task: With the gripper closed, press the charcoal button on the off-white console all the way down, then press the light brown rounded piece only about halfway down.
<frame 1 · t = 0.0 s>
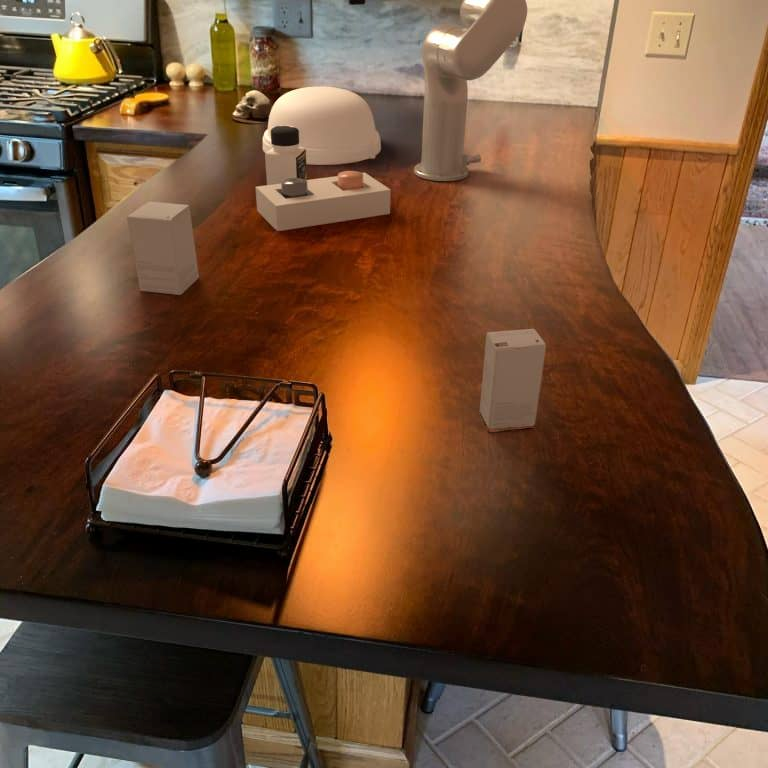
hand: (346, 1, 149), 37 cm above the kitchen counter, tool pointing down, fingers open, 9 cm apart
skull: (253, 120, 218), on the kitchen counter
medicine bottle: (287, 183, 171), on the kitchen counter
skincare box: (505, 424, 94), on the kitchen counter
button console: (323, 212, 155), on the kitchen counter
dome cover: (322, 148, 195), on the kitchen counter
light brown rounded piece: (350, 184, 155), point 5 cm above the kitchen counter, slide at 0.0 cm
supplement box: (169, 285, 126), on the kitchen counter
charcoal button: (294, 192, 150), point 5 cm above the kitchen counter, slide at 0.0 cm
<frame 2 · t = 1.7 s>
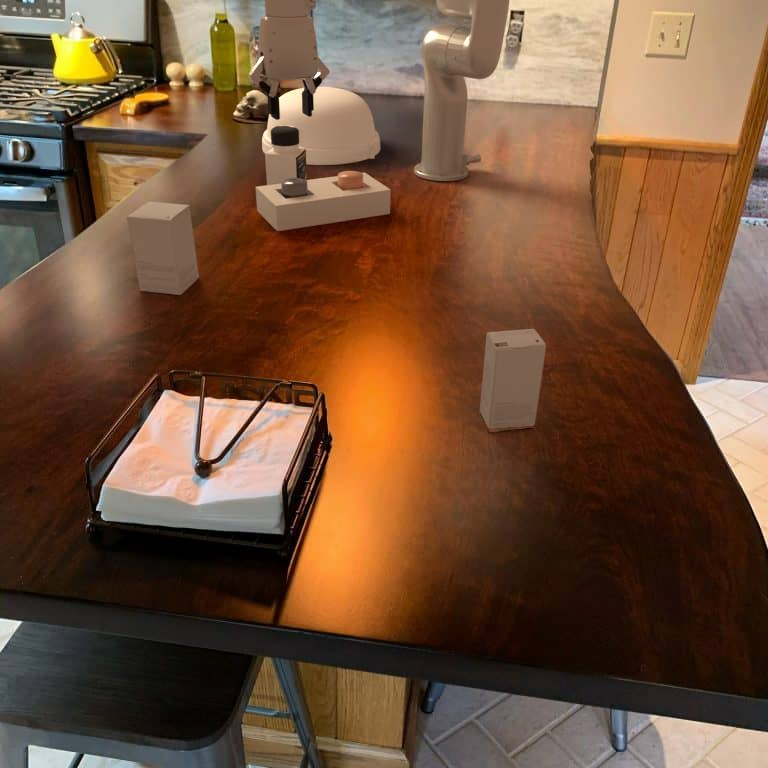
hand: (291, 115, 142), 20 cm above the kitchen counter, tool pointing down, fingers open, 5 cm apart
nothing on the kitchen counter moved.
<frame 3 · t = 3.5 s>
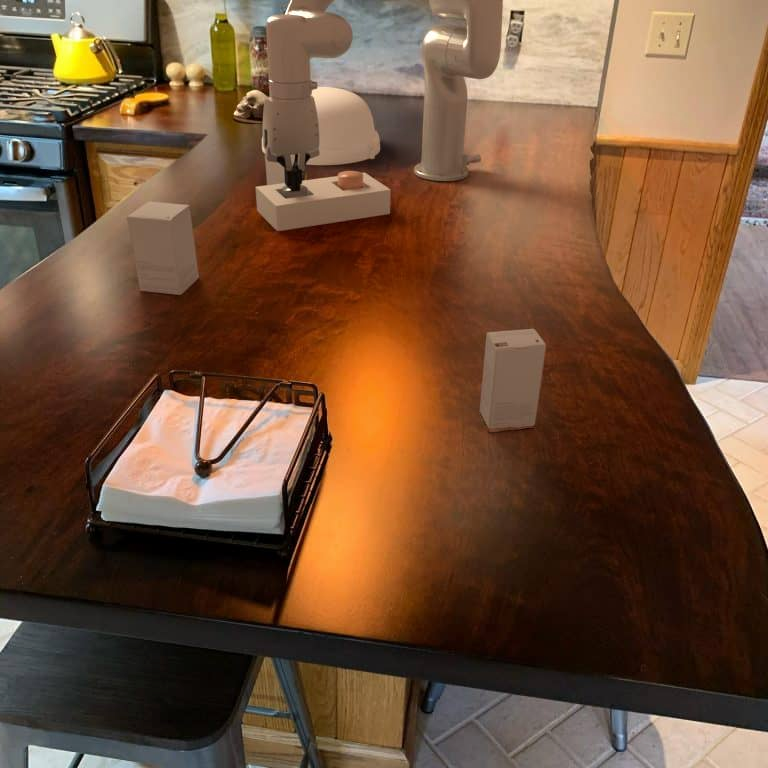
hand: (293, 188, 150), 6 cm above the kitchen counter, tool pointing down, fingers closed
charcoal button: (295, 198, 151), point 4 cm above the kitchen counter, slide at 1.3 cm, touching gripper
everything else where it was.
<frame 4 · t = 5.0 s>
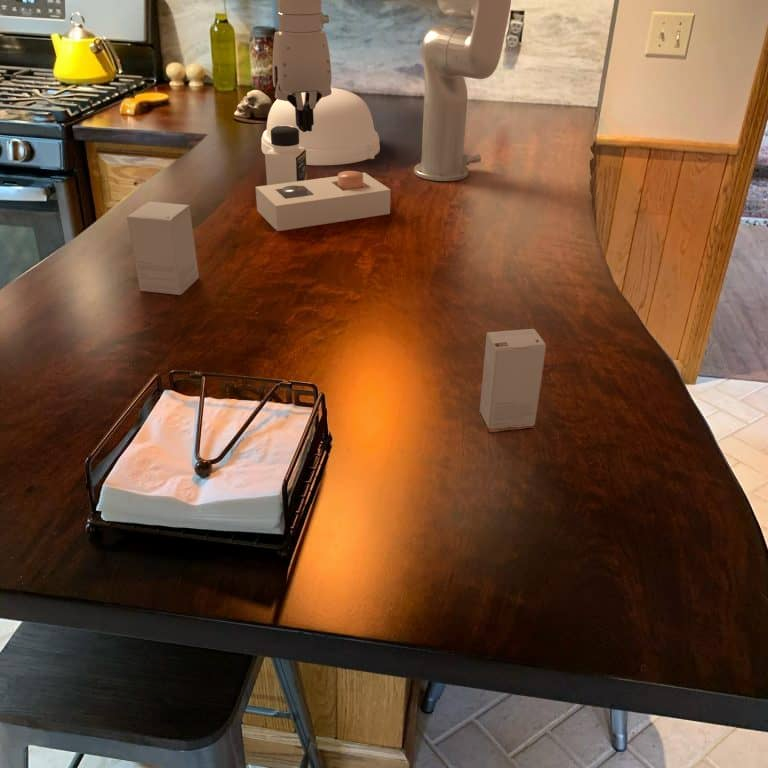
hand: (305, 129, 145), 17 cm above the kitchen counter, tool pointing down, fingers closed
charcoal button: (295, 199, 151), point 3 cm above the kitchen counter, slide at 1.5 cm
everything else where it was.
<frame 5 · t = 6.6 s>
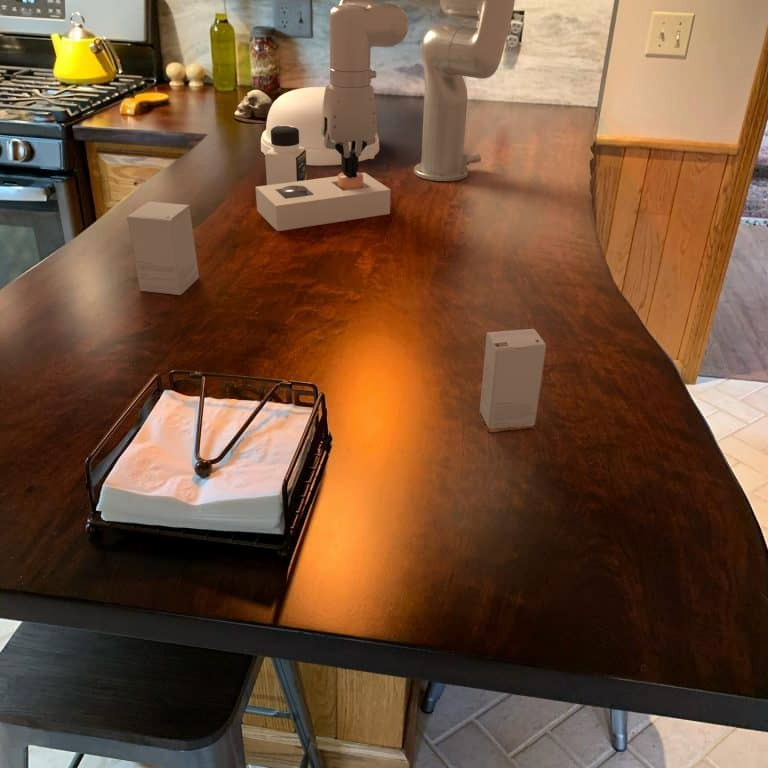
hand: (349, 175, 154), 7 cm above the kitchen counter, tool pointing down, fingers closed
light brown rounded piece: (350, 185, 155), point 5 cm above the kitchen counter, slide at 0.2 cm, touching gripper
everything else where it was.
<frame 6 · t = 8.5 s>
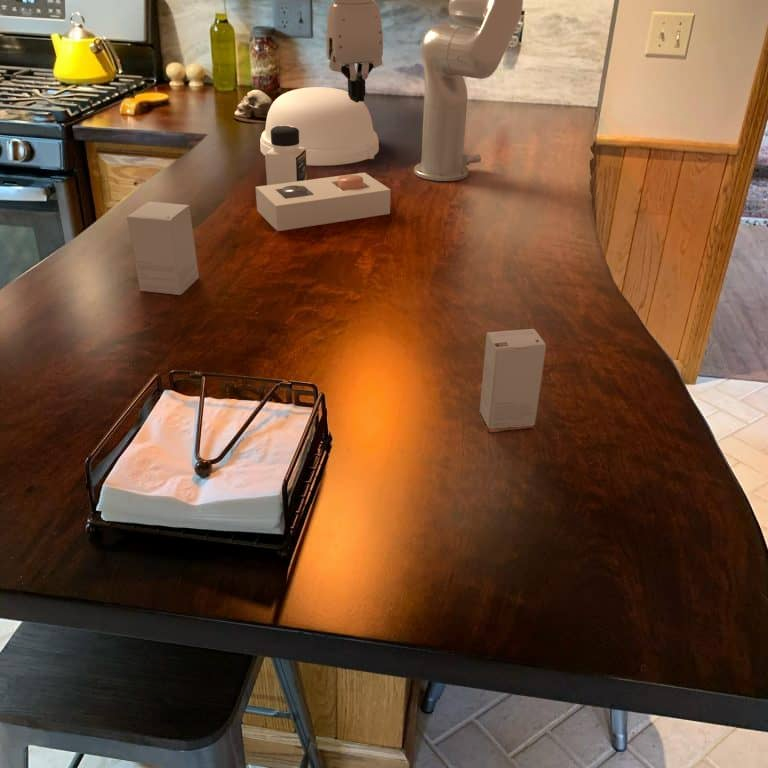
hand: (356, 100, 149), 21 cm above the kitchen counter, tool pointing down, fingers closed
light brown rounded piece: (350, 188, 155), point 4 cm above the kitchen counter, slide at 0.8 cm
everything else where it was.
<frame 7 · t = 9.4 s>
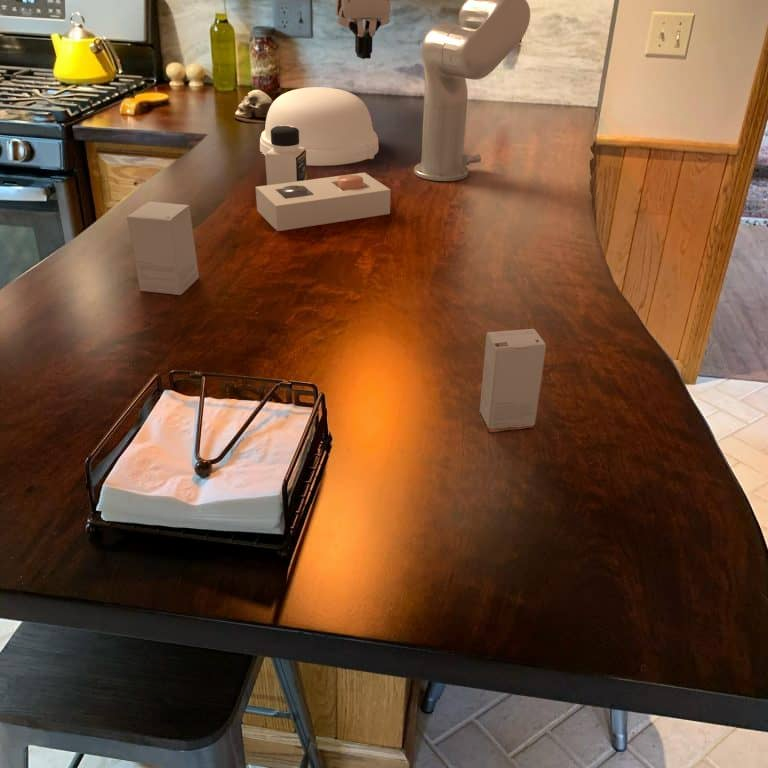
hand: (363, 57, 152), 27 cm above the kitchen counter, tool pointing down, fingers closed
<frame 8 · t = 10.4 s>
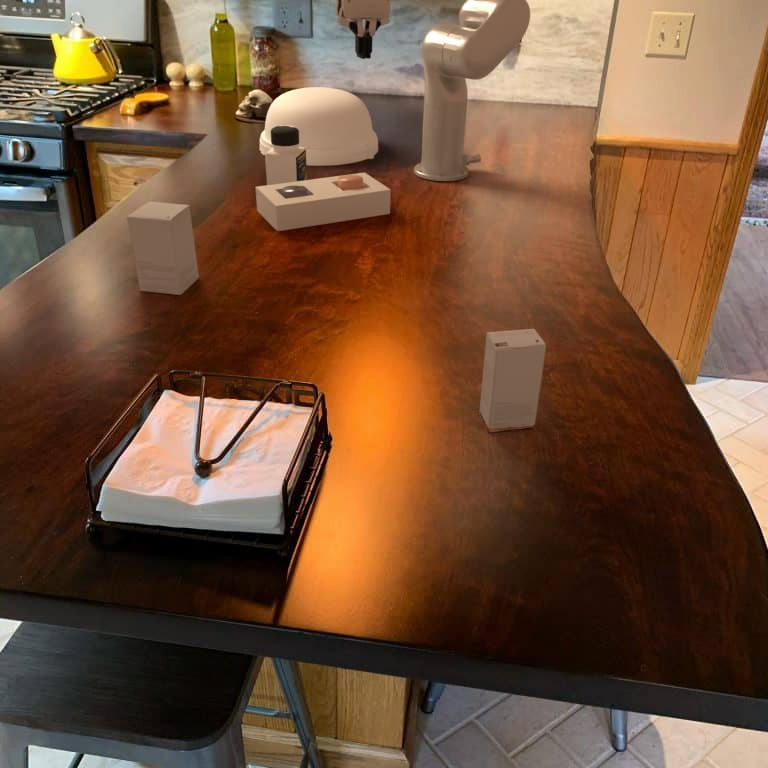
hand: (363, 57, 152), 27 cm above the kitchen counter, tool pointing down, fingers closed
at the end: charcoal button slide at 1.5 cm; light brown rounded piece slide at 0.8 cm; medicine bottle moved 0.2 cm from its start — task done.
